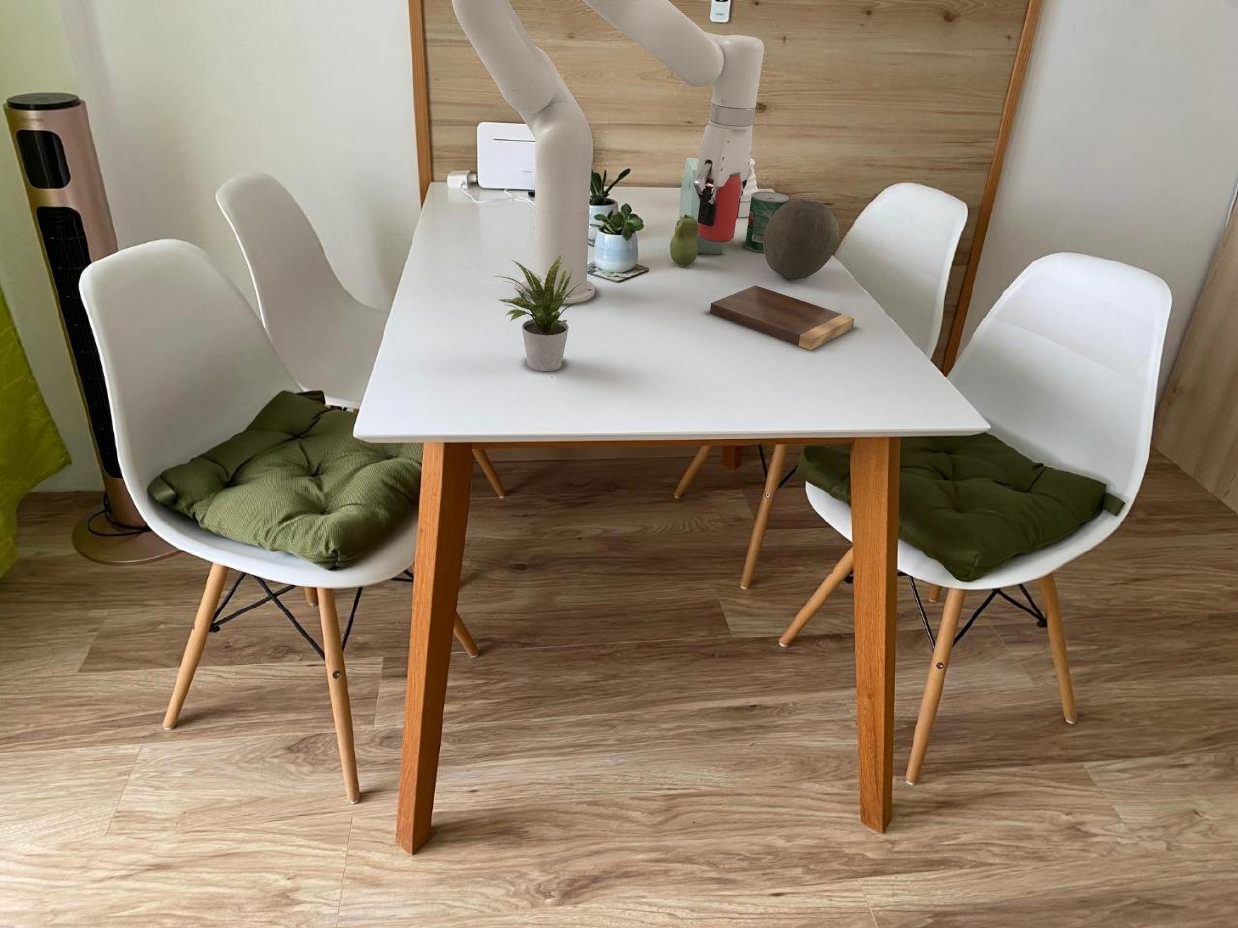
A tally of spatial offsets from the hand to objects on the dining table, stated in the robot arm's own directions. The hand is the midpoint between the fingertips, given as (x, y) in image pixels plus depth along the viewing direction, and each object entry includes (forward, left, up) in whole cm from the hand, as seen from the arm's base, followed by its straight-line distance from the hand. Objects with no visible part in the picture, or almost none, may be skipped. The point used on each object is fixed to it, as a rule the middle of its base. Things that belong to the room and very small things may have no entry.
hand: (717, 220), depth 163 cm
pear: (+9, +14, -14) cm, 22 cm away
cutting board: (-1, -16, -14) cm, 21 cm away
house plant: (-44, 0, -14) cm, 46 cm away
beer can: (0, 0, -3) cm, 3 cm away
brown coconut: (+21, -5, -14) cm, 26 cm away
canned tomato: (+32, +10, -14) cm, 37 cm away
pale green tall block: (+21, +19, -14) cm, 32 cm away
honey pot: (+50, +32, -14) cm, 61 cm away
